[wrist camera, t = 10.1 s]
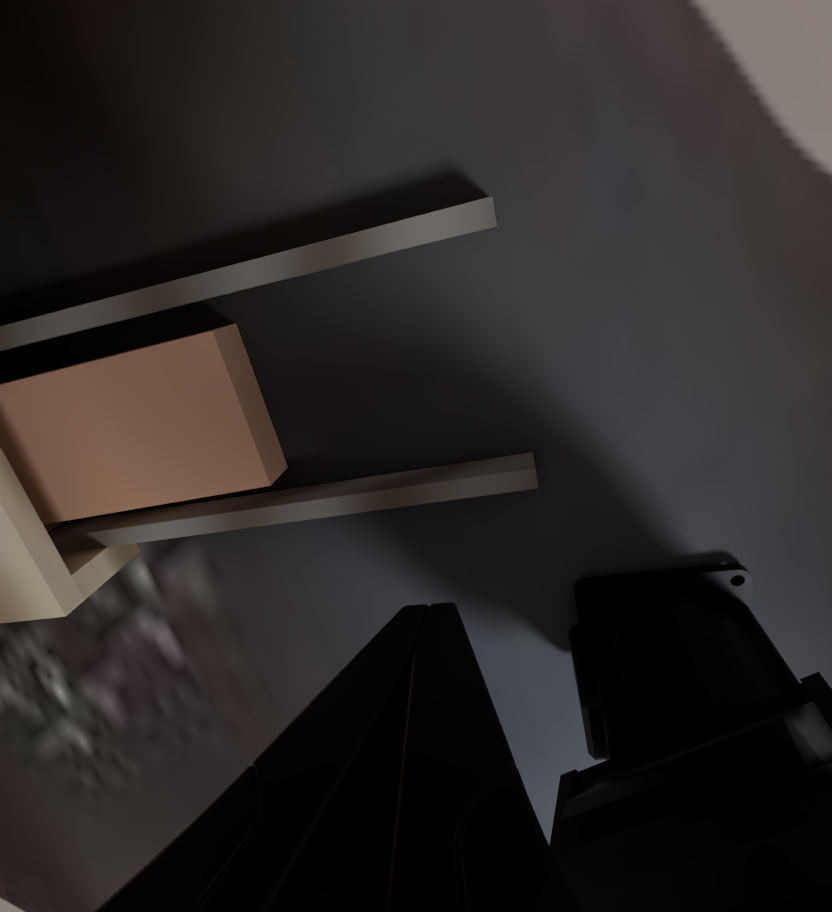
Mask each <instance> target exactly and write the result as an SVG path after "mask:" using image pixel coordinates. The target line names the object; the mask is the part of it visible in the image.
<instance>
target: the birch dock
mask: <svg viewBox="0 0 832 912" xmlns="http://www.w3.org/2000/svg"><path fill="white" fill-rule="evenodd" d="M493 227H497V223H496V216H495V210H494V204H493V198H492V196H491V197H487V198H483V199H479V200H476V201H472V202H468V203H464V204H460V205H457V206H453V207H449V208H445V209H442V210H438V211H434V212H430V213H427V214H423V215H419V216H415V217H411V218H408V219H404V220H400V221H396V222H393V223H389V224H385V225H381V226H377V227H374V228H370V229H366V230H362V231H359V232H355V233H351V234H347V235H343V236H340V237H336V238H332V239H328V240H325V241H321V242H317V243H313V244H309V245H306V246H302V247H298V248H294V249H291V250H287V251H283V252H279V253H275V254H272V255H268V256H264V257H260V258H257V259H253V260H249V261H245V262H242V263H238V264H234V265H230V266H226V267H223V268H219V269H215V270H211V271H208V272H204V273H200V274H196V275H192V276H189V277H185V278H181V279H177V280H174V281H170V282H166V283H162V284H158V285H155V286H151V287H147V288H143V289H140V290H136V291H132V292H128V293H124V294H121V295H117V296H113V297H109V298H106V299H102V300H98V301H94V302H91V303H87V304H83V305H79V306H75V307H72V308H68V309H64V310H60V311H57V312H53V313H49V314H45V315H41V316H38V317H34V318H30V319H26V320H23V321H19V322H15V323H11V324H7V325H4V326H0V351H3V350H7V349H11V348H15V347H19V346H23V345H27V344H31V343H35V342H39V341H43V340H47V339H51V338H55V337H59V336H63V335H67V334H71V333H75V332H79V331H83V330H87V329H91V328H95V327H99V326H103V325H107V324H111V323H115V322H119V321H123V320H126V319H130V318H134V317H138V316H142V315H146V314H150V313H154V312H158V311H162V310H166V309H170V308H174V307H178V306H182V305H186V304H190V303H194V302H198V301H202V300H206V299H210V298H214V297H218V296H222V295H226V294H230V293H234V292H238V291H242V290H246V289H250V288H254V287H258V286H262V285H266V284H270V283H274V282H278V281H282V280H286V279H290V278H294V277H298V276H302V275H306V274H310V273H314V272H318V271H321V270H325V269H329V268H333V267H337V266H341V265H345V264H349V263H353V262H357V261H361V260H365V259H369V258H373V257H377V256H381V255H385V254H389V253H393V252H397V251H401V250H405V249H409V248H413V247H417V246H421V245H425V244H429V243H433V242H437V241H441V240H445V239H449V238H453V237H457V236H461V235H465V234H469V233H473V232H477V231H481V230H485V229H489V228H493ZM537 488H538V481H537V474H536V468H535V462H534V455H533V452H530V453H523V454H516V455H510V456H503V457H497V458H490V459H483V460H477V461H470V462H464V463H457V464H451V465H444V466H437V467H431V468H424V469H418V470H411V471H404V472H398V473H391V474H385V475H378V476H372V477H365V478H358V479H352V480H345V481H339V482H332V483H325V484H319V485H312V486H306V487H299V488H293V489H286V490H279V491H273V492H266V493H260V494H253V495H246V496H240V497H233V498H227V499H220V500H214V501H207V502H200V503H194V504H187V505H181V506H174V507H167V508H161V509H154V510H148V511H141V512H134V513H128V514H121V515H115V516H108V517H102V518H95V519H88V520H82V521H75V522H69V523H62V524H61V523H60V522H56V523H51V524H45V525H43V524H42V522H41V520H40V518H39V516H38V514H37V513H36V511H35V509H34V507H33V505H32V504H31V502H30V500H29V498H28V496H27V494H26V493H25V491H24V489H23V487H22V485H21V484H20V482H19V480H18V478H17V476H16V474H15V473H14V471H13V469H12V467H11V465H10V464H9V462H8V460H7V458H6V456H5V454H4V453H3V451H2V449H1V447H0V623H8V622H18V621H27V620H37V619H47V618H57V617H66V616H67V615H68V614H69V613H70V612H72V611H73V610H74V609H75V608H76V607H77V606H78V605H80V604H81V603H82V602H83V601H84V600H85V599H87V598H88V597H89V596H90V595H91V594H92V593H93V592H95V591H96V590H97V589H98V588H99V587H100V586H101V585H103V584H104V583H105V582H106V581H107V580H108V579H109V578H111V577H112V576H113V575H114V574H115V573H116V572H118V571H119V570H120V569H121V568H122V567H123V566H124V565H126V564H127V563H128V562H129V561H130V560H131V559H132V558H134V557H135V556H136V555H137V554H138V553H139V552H141V551H140V549H139V547H138V545H137V543H141V542H148V541H156V540H163V539H170V538H178V537H185V536H192V535H200V534H207V533H214V532H222V531H229V530H236V529H244V528H251V527H258V526H266V525H273V524H280V523H288V522H295V521H302V520H310V519H317V518H324V517H332V516H339V515H346V514H354V513H361V512H369V511H376V510H383V509H391V508H398V507H405V506H413V505H420V504H427V503H435V502H442V501H449V500H457V499H464V498H471V497H479V496H486V495H493V494H501V493H508V492H515V491H523V490H530V489H537Z"/></svg>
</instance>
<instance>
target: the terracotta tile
mask: <svg viewBox="0 0 832 912" xmlns="http://www.w3.org/2000/svg"><path fill="white" fill-rule="evenodd" d="M0 447H1V449H2V451H3V453H4V454H5V456H6V458H7V460H8V462H9V464H10V465H11V467H12V469H13V471H14V473H15V474H16V476H17V478H18V480H19V482H20V484H21V485H22V487H23V489H24V491H25V493H26V494H27V496H28V498H29V500H30V502H31V504H32V505H33V507H34V509H35V511H36V513H37V514H38V516H39V518H40V520H41V522H42V524H43V525H45V524H51V523H56V522H62V521H68V520H74V519H80V518H86V517H91V516H97V515H103V514H109V513H115V512H121V511H126V510H132V509H138V508H144V507H150V506H156V505H161V504H167V503H173V502H179V501H185V500H191V499H196V498H202V497H208V496H214V495H220V494H226V493H231V492H237V491H243V490H249V489H255V488H261V487H266V486H271V485H272V484H273V483H274V482H275V481H276V480H277V479H278V478H279V476H280V475H281V474H282V473H283V472H284V471H285V470H286V469H287V468H288V466H287V463H286V460H285V458H284V455H283V452H282V449H281V446H280V444H279V441H278V438H277V435H276V433H275V430H274V427H273V424H272V422H271V419H270V416H269V413H268V410H267V408H266V405H265V402H264V399H263V397H262V394H261V391H260V388H259V385H258V383H257V380H256V377H255V374H254V372H253V369H252V366H251V363H250V361H249V358H248V355H247V352H246V349H245V347H244V344H243V341H242V338H241V336H240V333H239V330H238V327H237V324H236V323H235V324H231V325H227V326H223V327H219V328H215V329H211V330H207V331H204V332H200V333H196V334H192V335H188V336H184V337H180V338H176V339H172V340H168V341H164V342H161V343H157V344H153V345H149V346H145V347H141V348H137V349H133V350H129V351H125V352H122V353H118V354H114V355H110V356H106V357H102V358H98V359H94V360H90V361H86V362H82V363H79V364H75V365H71V366H67V367H63V368H59V369H55V370H51V371H47V372H43V373H40V374H36V375H32V376H28V377H24V378H20V379H16V380H12V381H8V382H4V383H1V384H0Z"/></svg>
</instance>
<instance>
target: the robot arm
mask: <svg viewBox="0 0 832 912" xmlns="http://www.w3.org/2000/svg"><path fill="white" fill-rule="evenodd" d="M736 575H740V577H739V578H738V579H735V580H731V578H732V577H733V576H736ZM585 589H591V590H592V591H591V592H589V593H583V592H582V591H583V590H585ZM574 596H575V603H576V610H577V616H578V623H579V625H574V626H572V627H571V628H570V629H569V631H568V632H569V639H570V645H571V652H572V658H573V665H574V672H575V678H576V684H577V689H578V695H579V701H580V707H581V713H582V719H583V724H584V730H585V736H586V742H587V748H588V753H589V754H590V755H591V756H592V757H593V758H594V759H595V760H601V759H607V761H604V762H602V763H599V764H597V765H594V766H592V767H589V768H587V769H584V770H582V771H579V772H578V771H577V770H572V771H570V772H567V773H565V774H562V775H561V777H560V783H559V789H558V796H557V802H556V809H555V815H554V822H553V828H552V834H551V841H550V846H549V844H548V842H547V840H546V838H545V836H544V833H543V831H542V829H541V826H540V824H539V821H538V819H537V817H536V814H535V812H534V809H533V807H532V805H531V802H530V800H529V797H528V795H527V792H526V790H525V787H524V784H523V782H522V779H521V776H520V774H519V771H518V769H517V767H516V765H515V761H514V758H513V756H512V753H511V750H510V748H509V745H508V742H507V740H506V737H505V734H504V732H503V729H502V726H501V724H500V721H499V718H498V716H497V713H496V710H495V708H494V705H493V702H492V700H491V697H490V694H489V692H488V689H487V686H486V684H485V681H484V678H483V676H482V673H481V670H480V668H479V665H478V662H477V660H476V657H475V654H474V652H473V649H472V646H471V644H470V641H469V638H468V636H467V633H466V630H465V628H464V625H463V622H462V620H461V617H460V614H459V612H458V609H457V606H456V605H455V603H452V602H450V603H436V604H432V605H430V607H429V606H428V605H426V604H422V605H408V606H404V607H403V608H402V609H401V610H400V611H399V612H398V613H397V614H396V615H395V616H394V617H393V618H392V619H391V620H390V621H389V622H388V623H387V624H386V625H385V626H384V627H383V628H382V629H381V630H380V631H379V632H378V633H377V634H376V635H375V636H374V637H373V638H372V639H371V640H370V642H369V643H368V644H367V645H366V646H365V647H364V648H363V649H362V650H361V651H360V652H359V653H358V654H357V655H356V656H355V657H354V658H353V659H352V660H351V661H350V662H349V663H348V664H347V665H346V666H345V667H344V668H343V669H342V670H341V671H340V672H339V674H338V675H337V676H336V677H335V678H334V679H333V680H332V681H331V682H330V683H329V684H328V685H327V686H326V687H325V688H324V689H323V690H322V691H321V692H320V693H319V694H318V695H317V696H316V697H315V698H314V699H313V700H312V701H311V702H310V703H309V704H308V706H307V707H306V708H305V709H304V710H303V711H302V712H301V713H300V714H299V715H298V716H297V717H296V718H295V719H294V720H293V721H292V722H291V723H290V724H289V725H288V726H287V727H286V728H285V729H284V730H283V731H282V732H281V733H280V734H279V735H278V736H277V738H276V739H275V740H274V741H273V742H272V743H271V744H270V745H269V746H268V747H267V748H266V749H265V750H264V751H263V752H262V753H261V754H260V755H259V756H258V757H257V758H256V759H255V760H254V762H253V767H252V766H248V767H247V768H246V769H245V770H244V771H243V772H242V773H241V774H240V775H239V776H238V777H237V779H236V780H235V781H234V782H233V783H232V784H231V785H230V786H229V787H228V788H227V789H226V790H225V791H224V792H223V793H222V794H221V795H220V796H219V797H218V798H217V799H216V800H215V801H214V802H213V803H212V804H211V805H210V806H209V807H208V808H207V809H206V810H205V811H204V812H203V813H202V814H201V815H200V816H199V817H198V818H197V819H196V820H195V821H194V822H193V823H191V824H190V825H189V826H188V827H187V828H186V829H185V830H184V831H183V832H182V833H181V834H180V835H178V836H177V837H176V838H175V839H174V840H173V841H172V842H171V843H170V844H169V845H168V846H167V847H165V848H164V849H163V850H162V851H161V852H160V853H159V854H158V855H157V856H156V857H155V858H154V859H152V860H151V861H150V862H149V863H148V864H147V865H146V866H145V867H144V868H142V869H141V870H140V871H139V872H138V873H137V874H136V875H135V876H134V877H132V878H131V879H130V880H129V881H128V882H127V883H126V884H125V885H123V886H122V887H121V888H120V889H119V890H118V891H117V892H116V893H115V894H113V895H112V896H111V897H110V898H109V899H108V900H107V901H106V902H104V903H103V904H102V905H101V906H100V907H99V908H98V909H97V910H96V911H94V912H832V689H831V688H830V686H829V685H828V684H827V682H826V681H825V680H824V678H823V677H822V676H821V674H820V673H819V672H817V673H815V674H812V675H810V676H807V677H805V678H802V679H800V680H801V682H802V683H799V682H798V680H797V679H796V677H795V676H794V674H793V673H792V671H791V670H790V668H789V667H788V665H787V664H786V662H785V661H784V659H783V658H782V656H781V655H780V653H779V652H778V650H777V649H776V647H775V646H774V645H773V643H772V642H771V640H770V639H769V637H768V636H767V634H766V633H765V631H764V630H763V628H762V627H761V625H760V624H759V622H758V621H757V619H756V618H755V616H754V615H753V613H752V577H751V575H750V573H749V572H748V571H747V569H746V568H745V567H744V566H742V565H740V564H725V565H714V566H704V567H693V568H683V569H673V570H662V571H652V572H642V573H631V574H621V575H610V576H600V577H590V578H583V579H580V580H578V581H577V582H576V583H575V585H574Z"/></svg>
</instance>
